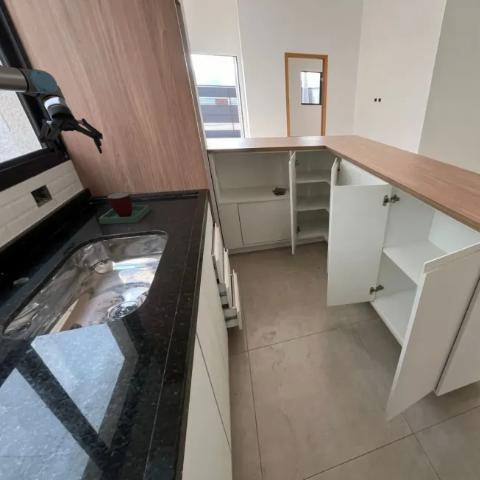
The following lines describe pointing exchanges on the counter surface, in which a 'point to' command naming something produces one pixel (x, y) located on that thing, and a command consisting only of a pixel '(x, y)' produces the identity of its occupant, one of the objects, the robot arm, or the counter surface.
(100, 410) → the counter surface
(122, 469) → the counter surface
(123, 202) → the mug
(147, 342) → the counter surface
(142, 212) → the tray
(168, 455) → the counter surface
